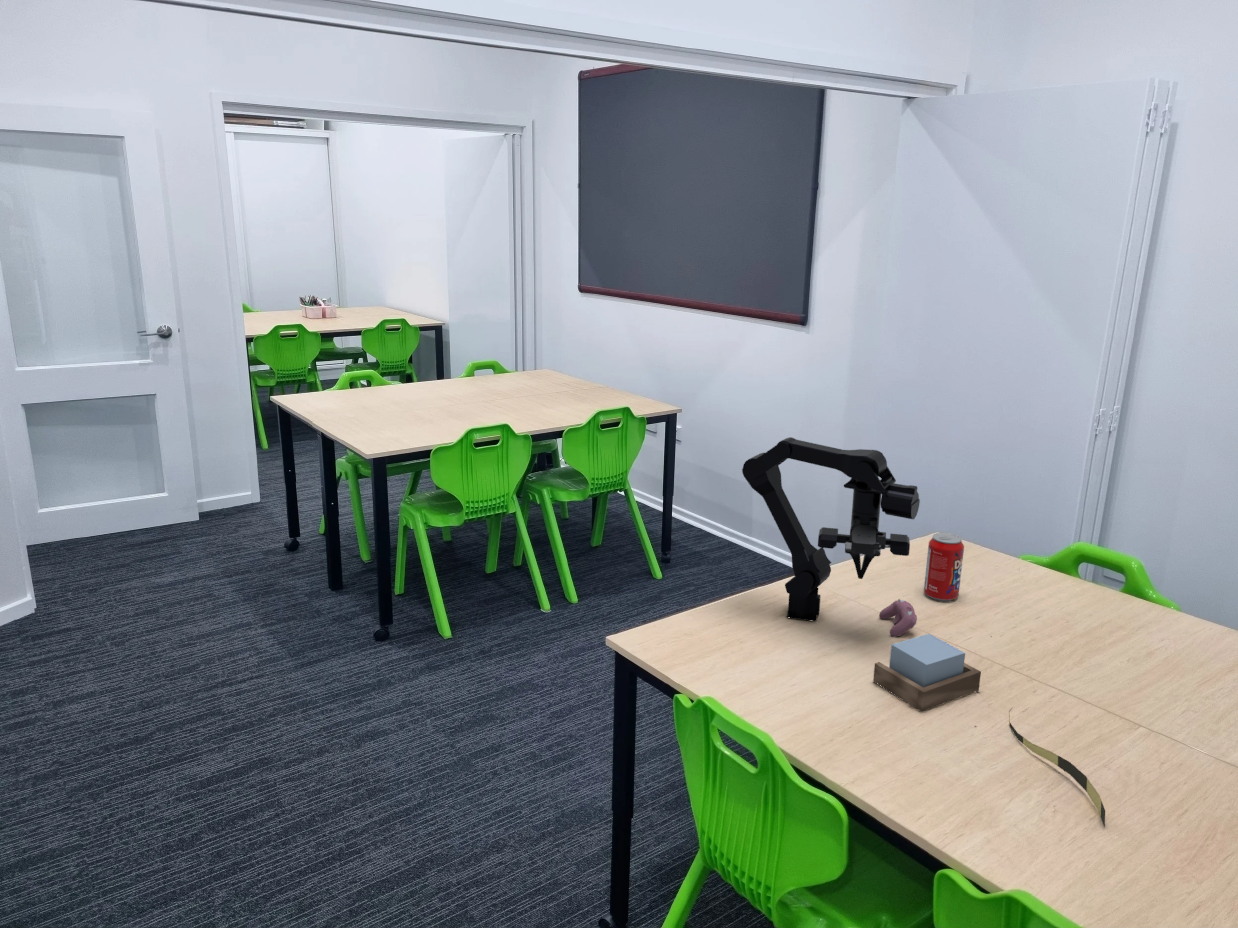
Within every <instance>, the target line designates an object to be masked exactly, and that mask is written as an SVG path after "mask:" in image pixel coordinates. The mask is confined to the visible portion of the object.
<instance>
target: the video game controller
mask: <svg viewBox="0 0 1238 928" xmlns="http://www.w3.org/2000/svg"><path fill="white" fill-rule="evenodd" d="M878 617H879V619H881V620H888V619H891V618H893V617H894V618H893V623H894V624H895V625H893V626H892V627H891V628H890V629H889V635H890V636H891V637H899V636H903V635H904V634H905V633H907V632H909V630H911V629H913V628H914V627H915V626H916V624H917V620H918V616H917V614H916V612H915V608H914V607H913V605H912V604H911V603H910V602H908V601H906V600H904V599H900V598H899V599H897V600H894V601H893V602H892V603H891V604H889V605H888V606H886V607H884V608H883V609H882V610H881V611H880V612H879V615H878Z"/></svg>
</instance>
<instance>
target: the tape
mask: <svg viewBox="0 0 1238 928" xmlns="http://www.w3.org/2000/svg"><path fill="white" fill-rule="evenodd" d="M1012 709H1013V707H1011V708H1010V710H1009V711H1008V713H1010V712H1011V710H1012ZM1009 719H1011V718H1010V715H1009ZM1009 728H1010V729H1011V731H1012V733H1013V732H1014V733H1013V734H1014V736H1015V737H1016V739H1017V740H1018V741H1019V742H1020V743H1021V744H1023V745H1024V746H1025V747H1026V749H1029V750H1030V751H1031V752H1032V753H1034V754H1035V755H1037V756H1039V757H1041V758H1043V759H1045V760H1047V761H1049V762H1050V763H1052V764H1054V765H1056V767H1058V768H1059V769H1061V770H1063V771H1064V772H1066V773H1067V774H1069V775H1070V776H1071V777H1072V779H1074V781H1076V782H1077V784H1078V785H1080V787H1081V788H1082V789H1083V790H1085V792H1086V794H1087V795H1088V797H1089V799H1090V801H1091V802H1092V803H1093V805H1094V807H1095V808H1096V809H1097V811H1098V813H1099V817H1100V818H1101V822H1102V825H1103V827H1104V828H1106V827H1105V826H1106V809H1105V806H1104V803H1103V801H1102V798H1101V795H1100V794H1099V792H1098V791H1097V790H1096V788H1095V787H1094V785H1093V784H1092V783H1091V781H1090V780H1089V779H1088V777H1087V775H1085V774H1084V773H1083V772H1082V771H1080V770H1079V769H1078V768H1077V767H1076V766H1075V765H1074V764H1072V763H1071V761H1068V760H1067V759H1065V758H1063V757H1061V756H1060V755H1058V754H1056V753H1054V752H1053V751H1051V750H1049V749H1046V748H1044V747H1041V746H1039V745H1037V744H1035V743H1033V742H1031V741H1029V740H1028V739H1027V738H1025V737H1024V736H1023V735H1022V734H1020V733H1019V732H1018V731H1017V730H1016V728H1015V727H1014V726H1013V725H1012V723H1011V722H1009Z"/></svg>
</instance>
